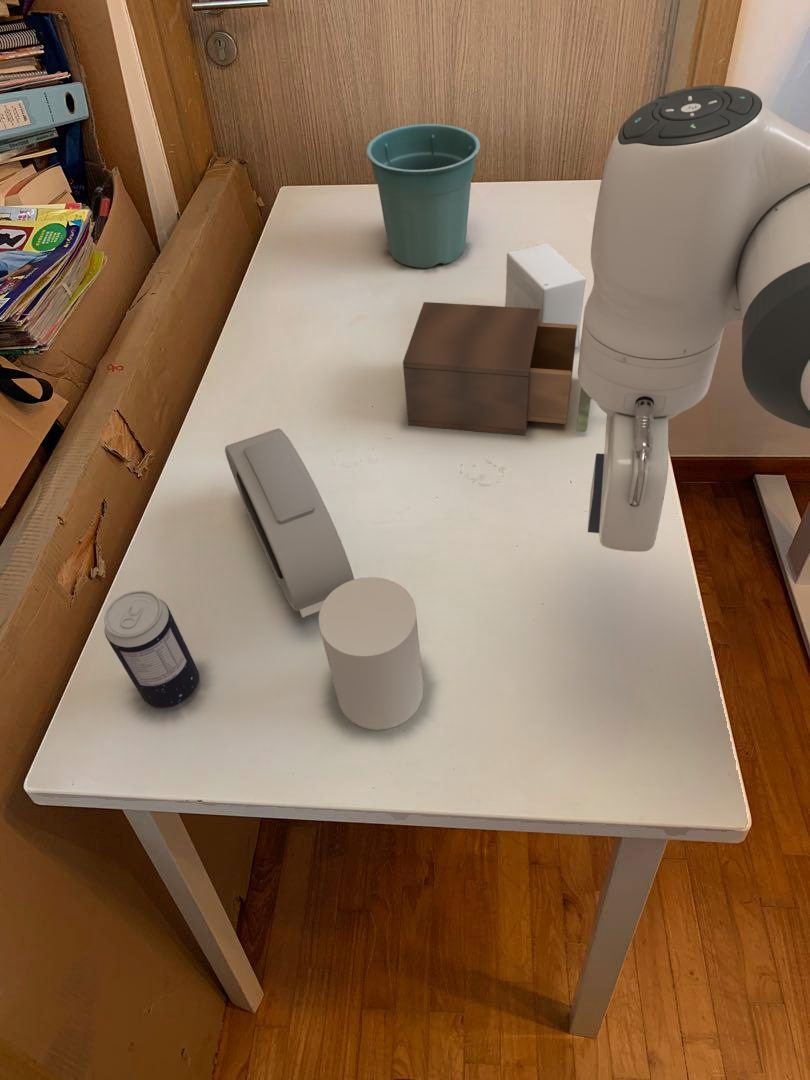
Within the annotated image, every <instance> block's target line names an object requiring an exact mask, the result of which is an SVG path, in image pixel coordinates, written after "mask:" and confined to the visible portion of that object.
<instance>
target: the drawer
mask: <svg viewBox="0 0 810 1080" xmlns="http://www.w3.org/2000/svg"><path fill="white" fill-rule="evenodd" d="M576 333H577V325H572V324H556V323H540V322H539V323H538V328H537V334H536V339H535V344H534V350H533V355H532V361H531V366H530V372H529V389H528V407H527V421H528V422H535V423H549V424H558V425H559V424H560V425H566V424H567V420H568V411H569V403H570V396H571V395H570V394H571V387H572V379H573V372H574V371H573V370H574V362H575V354H576V353H575V352H576V348H575V343H576ZM591 399H592V398H591V397H590V396H589V395H587V393H586V392H585V391H584V390H583V388H582V386H581V385H580V393H579V403H578V412H577V421H576V429H575V431H577V432H585V433H586V432H587V430H588V422H589V415H590V405H591V401H592V400H591Z"/></svg>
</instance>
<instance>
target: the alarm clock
mask: <svg viewBox="0 0 810 1080" xmlns="http://www.w3.org/2000/svg"><path fill="white" fill-rule="evenodd" d="M224 452H225V457H226V460H227V463H228V465H229V468H230V471H231V474H232V477H233V479H234V483H235V484H236V487H237V490H238V492H239V495H240V497H241V500H242V503H243V505H244V507H245V509H246V512H247V515H248V517H249V520H250V522H251V524H252V526H253V529H254V532H255V533H256V536H257V538H258V541H259V542H260V544H261V547H262V550H263V552H264V554H265V557H266V558H267V561H268V563H269V565H270V567H271V569H272V572H273V574H274V576H275V579H277V582H278V585H279V586H280V588H281V590H282V592H283V594H284V596H285V599H286V600H287V602H288V603H289V605H290V607H291V609H292V610H293V611H299V613H300V616H301V618H303V619H304V618H306V617H307V616H310V615H314V614H315V613H318V612H320V609H321V607H322V604H323V603H324V601H325V599H326V598H327V597H328V596H329V594H330V593H331V592H332V591H334V590H335V589H336V588H338V587H339V586H341V585H342V584H344V583H346V582H349V581H351V580H354V579H355V577H354V573H353V569H352V566H351V564H350V560H349V558H348V556H347V553H346V550H345V548H344V545H343V542H342V540H341V538H340V536H339V533H338V530H337V528H336V526H335V524H334V522H333V520H332V517H331V515H330V513H329V511H328V508H327V506H326V504H325V502H324V499H323V498H322V495H321V494H320V492H319V490H318V487H317V486H316V484H315V482H314V480H313V478H312V476H311V474H310V473H309V470H308V469H307V467H306V465H305V463H304V462H303V460H302V458H301V456H300V454H299V452H298V451H297V449H296V448H295V446H294V445H293V443H292V441H291V440H290V439H289V437H288V436H287V434H286V433H285V432H284V431H283V429H281V428H275V429H272V430H269V431H266V432H263V433H259V434H257V435H254V436H251V437H248V438H245V439H242V440H239V441H236V442H233V443H230V444H226V446H225V447H224Z"/></svg>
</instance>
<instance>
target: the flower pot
mask: <svg viewBox="0 0 810 1080" xmlns="http://www.w3.org/2000/svg"><path fill="white" fill-rule="evenodd" d="M480 148H481V142H480V140H479V138H478V137H477V136H476V134H474V133H472V132H470V131H469V130H467V129H464V128H460V127H457V126H454V125H447V124H440V123H419V124H409V125H408V124H407V125H403V126H398V127H395V128H391V129H389V130H386V131H384V132H382V133H379V134H378V135H377V136H375V137H374V138H373V139H371V140H370V142H369V143H368V144H367V146H366V156H367V158H368V161H370V162H371V166H372V172H373V177H374V181H375V183H376V184H377V189H378V193H379V200H380V206H381V211H382V217H383V224H384V231H385V236H386V242H387V248H388V252H389V253H390V254H391V256H392V258H393V260H394V261H396V262H398V263H400V264H402V265H405V266H408V267H412V268H424V269H425V268H426V269H427V268H434V267H435V266H436V265H438V264H443V265H447V264H450V263H452V262H455V260H457V259H459V258H460V256H461V255H463V253H464V251H465V248H466V241H467V240H466V239H467V230H468V228H467V227H468V218H469V208H470V198H471V197H470V196H471V187H472V179H473V177H474V174H475V167H476V165H475V164H476V157H477V156H478V154H479V151H480Z"/></svg>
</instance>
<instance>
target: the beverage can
mask: <svg viewBox="0 0 810 1080" xmlns="http://www.w3.org/2000/svg"><path fill="white" fill-rule="evenodd" d="M103 623H104V636H105V638H106V640H107V641H108V643H109V646H110V647H111V648H112V650H113V651H114V653H115V655H116V656H117V658H118V660H119V662H120V664H121V665H122V667H123V668H124V670H125V672H126V673H127V675H128V677H129V679H130V680H131V682H132V683H133V685H134V687H135V689H136V690H137V692H138V694H139V695H140V697H141V699H142V700H143V702H144V703H146V704H148V705H149V706H150V707H153V708H158V709H169V708H172V707H176V706H178V705H181V704H182V703H183V702H185V701H187V700H188V699H189V698H190V697H191V696H192V695H193V694H194V692H195V691H196V689H197V687H198V684H199V681H200V673H199V669H198V667H197V665H196V663H195V661H194V658H193V656H192V654H191V652H190V650H189V648H188V646H187V644H186V642H185V639H184V637H183V635H182V633H181V631H180V629H179V626H178V624H177V622H176V621H175V619H174V616H173V614H172V612H171V610H170V608H169V606H168V604H167V603H166V602H165V601H164V600H162V599H161V598H159V597H158V596H157V595H155V594H154V593H153V592H150V591H148V590H134V591H129V592H127V593H124V594H122V595H119V597H117V598H115V600H113V601H112V602H111V603H110V604H109V605H108V606H107V609H106V611H105V613H104V617H103Z"/></svg>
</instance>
